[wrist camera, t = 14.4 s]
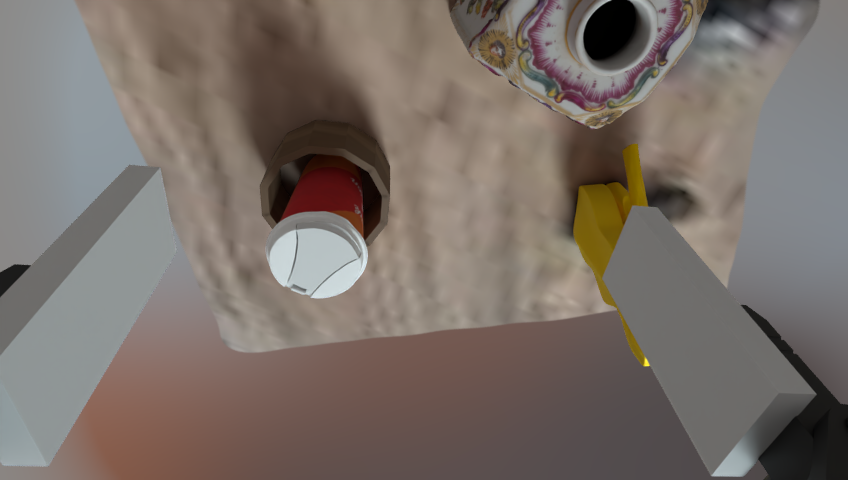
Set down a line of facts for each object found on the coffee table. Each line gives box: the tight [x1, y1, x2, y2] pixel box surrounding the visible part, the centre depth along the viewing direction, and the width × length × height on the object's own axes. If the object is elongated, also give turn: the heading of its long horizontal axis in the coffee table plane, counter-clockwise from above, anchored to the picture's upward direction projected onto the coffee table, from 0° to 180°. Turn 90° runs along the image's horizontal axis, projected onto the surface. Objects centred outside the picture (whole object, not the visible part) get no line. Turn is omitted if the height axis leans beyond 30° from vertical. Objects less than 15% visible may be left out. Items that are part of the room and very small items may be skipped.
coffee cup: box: [266, 154, 368, 298], centre depth 45 cm, size 8×8×15 cm
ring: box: [260, 120, 390, 247], centre depth 49 cm, size 12×12×6 cm
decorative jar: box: [450, 0, 708, 129], centre depth 35 cm, size 12×12×18 cm
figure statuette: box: [574, 144, 650, 366], centre depth 46 cm, size 18×8×22 cm, turn 6°
